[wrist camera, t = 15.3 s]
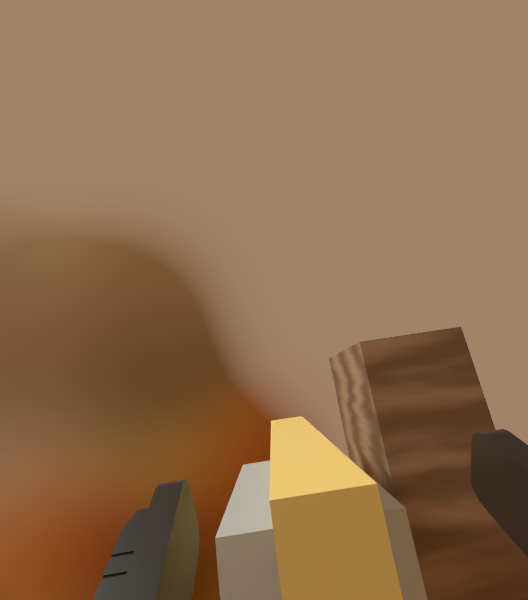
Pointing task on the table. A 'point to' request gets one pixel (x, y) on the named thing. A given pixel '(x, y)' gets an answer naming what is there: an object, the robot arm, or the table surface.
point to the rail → (326, 520)
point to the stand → (429, 457)
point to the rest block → (261, 545)
